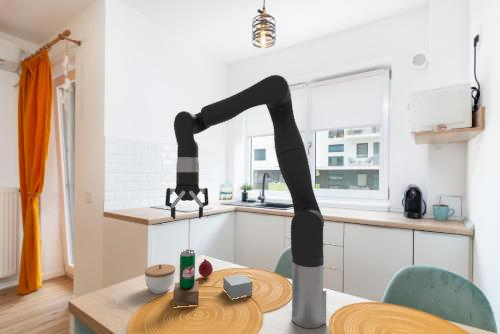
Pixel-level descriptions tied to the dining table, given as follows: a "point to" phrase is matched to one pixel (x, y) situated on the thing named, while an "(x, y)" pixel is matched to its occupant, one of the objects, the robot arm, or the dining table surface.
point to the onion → (205, 269)
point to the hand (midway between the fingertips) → (187, 218)
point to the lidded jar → (159, 277)
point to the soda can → (187, 269)
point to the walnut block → (186, 295)
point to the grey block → (237, 285)
